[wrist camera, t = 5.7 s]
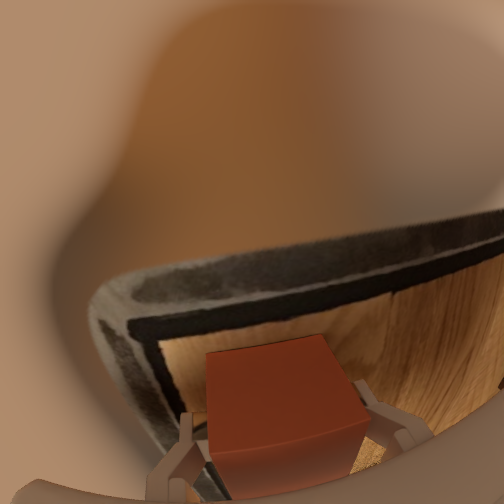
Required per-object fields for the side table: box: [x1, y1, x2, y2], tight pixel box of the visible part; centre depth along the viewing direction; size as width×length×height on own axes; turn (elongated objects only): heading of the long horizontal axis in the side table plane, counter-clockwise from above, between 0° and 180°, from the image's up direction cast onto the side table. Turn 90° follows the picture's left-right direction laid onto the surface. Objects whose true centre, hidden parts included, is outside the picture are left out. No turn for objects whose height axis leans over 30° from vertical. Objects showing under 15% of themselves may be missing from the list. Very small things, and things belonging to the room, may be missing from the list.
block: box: [206, 334, 371, 500], centre depth 10 cm, size 5×5×5 cm
